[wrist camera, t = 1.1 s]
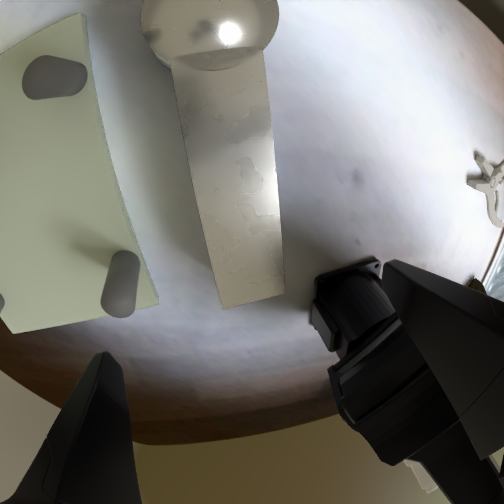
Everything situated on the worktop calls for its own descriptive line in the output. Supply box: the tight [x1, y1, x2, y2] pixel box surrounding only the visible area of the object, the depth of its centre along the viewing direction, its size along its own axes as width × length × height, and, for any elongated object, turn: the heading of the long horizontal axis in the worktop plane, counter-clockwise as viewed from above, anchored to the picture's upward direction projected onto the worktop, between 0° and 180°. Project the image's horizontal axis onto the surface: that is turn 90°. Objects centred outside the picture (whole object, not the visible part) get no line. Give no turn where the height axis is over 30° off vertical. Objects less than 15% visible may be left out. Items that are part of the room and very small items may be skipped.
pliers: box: [467, 156, 504, 228], centre depth 24 cm, size 10×2×15 cm
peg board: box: [0, 12, 158, 334], centre depth 12 cm, size 15×20×5 cm
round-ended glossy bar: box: [141, 0, 285, 309], centre depth 14 cm, size 6×19×4 cm, turn 7°
